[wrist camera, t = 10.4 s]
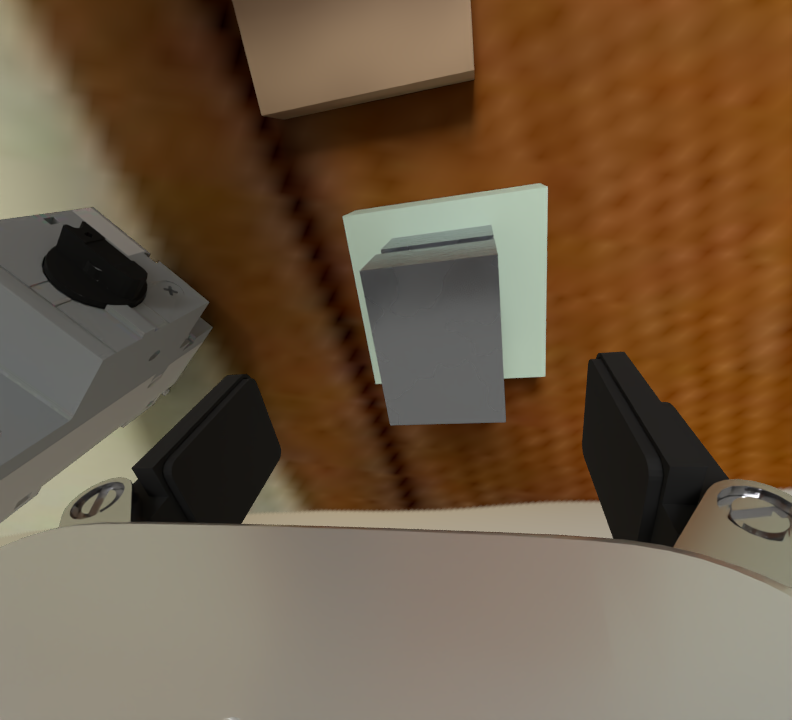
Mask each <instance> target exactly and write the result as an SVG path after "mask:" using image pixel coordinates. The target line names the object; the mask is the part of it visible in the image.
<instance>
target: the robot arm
mask: <svg viewBox="0 0 792 720" xmlns="http://www.w3.org/2000/svg"><path fill="white" fill-rule="evenodd" d="M582 449H583V455H584V458H585V461H586V464H587V467H588V469H589V472H590V475H591V478H592V481H593V483H594V486H595V489H596V492H597V494H598V497H599V500H600V503H601V506H602V508H603V511H604V514H605V516H606V519H607V522H608V525H609V528H610V530H611V533H612V536H613V539H610V538H596V537H581V536H567V535H551V534H550V535H549V534H524V533H523V534H522V533H503V532H476V531H449V530H448V531H447V530H422V529H420V530H419V529H395V528H394V529H393V528H364V527H331V526H298V525H264V524H263V525H262V524H241V523H242V522H243V520H244V518H245V517H246V515H247V513H248V512H249V510H250V508H251V507H252V505H253V503H254V501H255V500H256V498H257V496H258V495H259V493H260V491H261V490H262V488H263V486H264V485H265V483H266V481H267V480H268V478H269V476H270V475H271V473H272V471H273V469H274V468H275V466H276V464H277V463H278V461H279V459H280V456H281V448H280V445H279V442H278V439H277V437H276V434H275V431H274V429H273V426H272V423H271V420H270V418H269V415H268V412H267V410H266V407H265V404H264V402H263V399H262V396H261V394H260V391H259V388H258V386H257V383H256V381H255V380H254V379H251V377H250V376H249V375H247V374H240V375H227V376H226V377H225V378H224V379H223V380H222V381H221V382H220V383H218V384H217V385H216V386H215V387H214V388H213V389H212V390H211V391H210V392H209V393H208V394H207V395H206V396H205V397H204V398H203V399H202V400H201V401H200V402H199V403H198V404H197V405H196V406H195V407H194V408H193V409H192V410H191V411H190V412H189V413H188V414H187V415H186V416H185V417H184V418H183V419H182V420H180V421H179V422H178V423H177V424H176V425H175V426H174V427H173V428H172V429H171V430H170V431H169V432H168V433H167V434H166V435H165V436H164V437H163V438H162V439H161V440H160V441H159V442H158V443H157V444H156V445H155V446H154V447H153V448H152V449H151V450H150V451H149V452H148V453H147V454H146V455H145V456H144V457H142V458H141V459H140V460H139V461H138V462H137V463H136V464H135V465H134V466H133V467H132V470H133V471H134V473H135V475H136V476H137V478H138V480H137V481H136V482H135V483H134V484H132V482H131V480H129V479H127V478H122V477H118V478H112V479H108V480H105V481H102V482H100V483H98V484H96V485H94V486H92V487H90V488H88V489H87V490H85V491H84V492H82V493H81V494H79V495H78V496H77V497H76V498H75V499H73V500H72V501H71V502H70V503H69V505H68V506H67V507H66V508H65V510H64V512H63V514H62V517H61V521H60V525H59V527H58V528H56V529H51V530H47V531H44V532H40V533H37V534H34V535H30V536H27V537H24V538H21V539H19V540H17V541H14V542H11V543H9V544H6V545H4V546H2V547H0V720H792V496H791V495H789V494H787V493H785V492H783V491H781V490H779V489H776V488H774V487H772V486H769V485H765V484H762V483H759V482H755V481H748V480H741V479H732V480H729V478H728V477H727V476H726V474H725V473H724V472H723V470H722V469H721V468H720V466H719V465H718V464H717V463H716V461H715V460H714V459H713V457H712V456H711V455H710V453H709V452H708V451H707V449H706V448H705V447H704V446H703V444H702V443H701V442H700V440H699V439H698V438H697V436H696V435H695V434H694V432H693V431H692V430H691V428H690V427H689V426H688V425H687V423H686V422H685V421H684V419H683V418H682V417H681V415H680V414H679V413H678V411H677V410H676V409H675V408H674V406H672V405H671V404H670V403H668V402H661V401H660V400H659V399H658V397H657V396H656V395H655V393H654V392H653V390H652V389H651V388H650V386H649V385H648V384H647V382H646V381H645V379H644V378H643V377H642V375H641V374H640V373H639V371H638V370H637V368H636V367H635V366H634V364H633V363H632V362H631V360H630V359H629V357H628V356H627V355H626V353H625V352H611V353H598V355H597V357H596V359H590V360H589V363H588V374H587V387H586V400H585V413H584V426H583V439H582Z"/></svg>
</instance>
